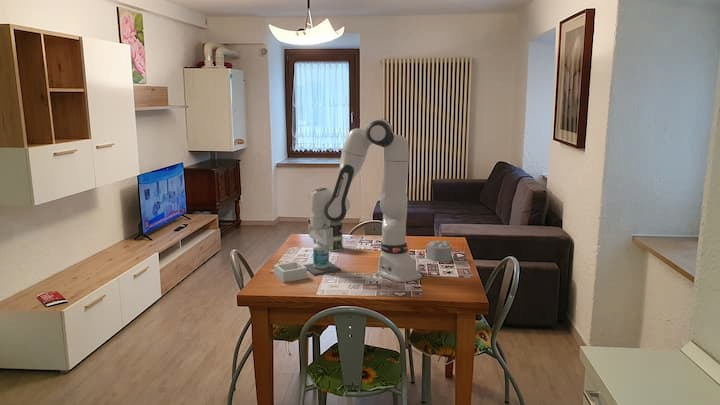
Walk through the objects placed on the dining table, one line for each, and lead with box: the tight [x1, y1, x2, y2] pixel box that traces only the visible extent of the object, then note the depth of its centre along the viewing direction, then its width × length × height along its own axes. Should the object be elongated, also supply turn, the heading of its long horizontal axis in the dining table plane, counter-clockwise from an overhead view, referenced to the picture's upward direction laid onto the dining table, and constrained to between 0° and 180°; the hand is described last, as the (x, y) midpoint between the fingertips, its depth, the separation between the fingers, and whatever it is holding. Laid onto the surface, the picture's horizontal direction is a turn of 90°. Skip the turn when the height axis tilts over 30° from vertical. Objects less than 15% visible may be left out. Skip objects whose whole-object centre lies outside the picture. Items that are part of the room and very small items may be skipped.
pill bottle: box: [312, 240, 330, 269], centre depth 264 cm, size 8×7×14 cm
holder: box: [273, 260, 308, 283], centre depth 255 cm, size 11×11×5 cm
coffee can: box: [329, 221, 343, 252], centre depth 298 cm, size 10×10×14 cm
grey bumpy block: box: [426, 239, 453, 263], centre depth 280 cm, size 10×13×9 cm
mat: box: [302, 261, 342, 276], centre depth 266 cm, size 14×14×1 cm
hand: (321, 250), depth 264 cm, fingers open, 8 cm apart
